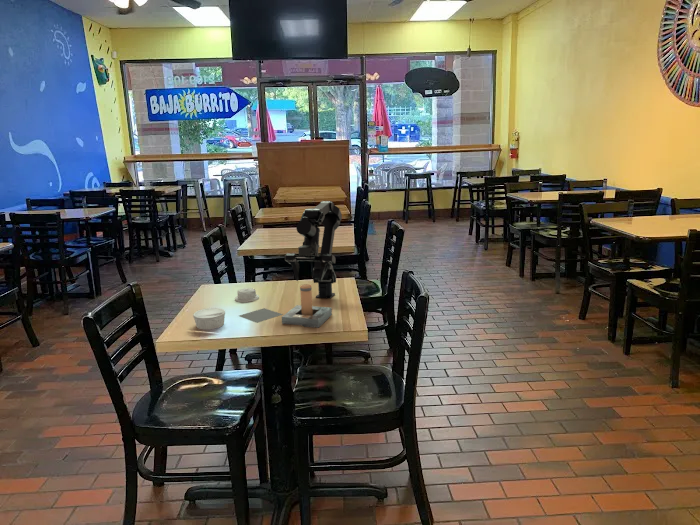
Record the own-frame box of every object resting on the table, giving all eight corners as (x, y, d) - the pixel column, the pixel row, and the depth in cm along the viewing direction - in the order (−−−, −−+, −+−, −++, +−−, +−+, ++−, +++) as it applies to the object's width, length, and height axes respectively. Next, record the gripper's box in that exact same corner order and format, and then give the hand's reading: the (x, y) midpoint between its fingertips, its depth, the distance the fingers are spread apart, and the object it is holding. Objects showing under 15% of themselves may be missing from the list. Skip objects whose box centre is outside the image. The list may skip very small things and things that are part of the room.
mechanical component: (252, 304, 217) (263, 297, 226) (251, 294, 216) (262, 287, 225) (230, 303, 220) (242, 296, 229) (229, 292, 219) (241, 286, 228)
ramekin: (209, 334, 185) (208, 319, 183) (187, 328, 191) (186, 314, 189) (232, 324, 194) (231, 310, 192) (211, 319, 200) (210, 306, 198)
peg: (300, 318, 197) (298, 284, 194) (311, 317, 198) (309, 283, 195) (303, 322, 193) (301, 287, 190) (314, 320, 194) (312, 286, 191)
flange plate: (297, 312, 204) (296, 304, 203) (331, 315, 200) (331, 307, 199) (282, 324, 191) (281, 316, 190) (318, 327, 187) (318, 319, 186)
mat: (264, 309, 209) (264, 308, 209) (283, 315, 201) (283, 314, 201) (238, 317, 201) (238, 315, 201) (257, 323, 193) (257, 322, 193)
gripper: (281, 235, 199) (277, 277, 196) (329, 236, 194) (326, 278, 192) (291, 242, 209) (288, 281, 207) (337, 242, 205) (334, 282, 202)
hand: (308, 281), depth 202 cm, fingers open, 9 cm apart
